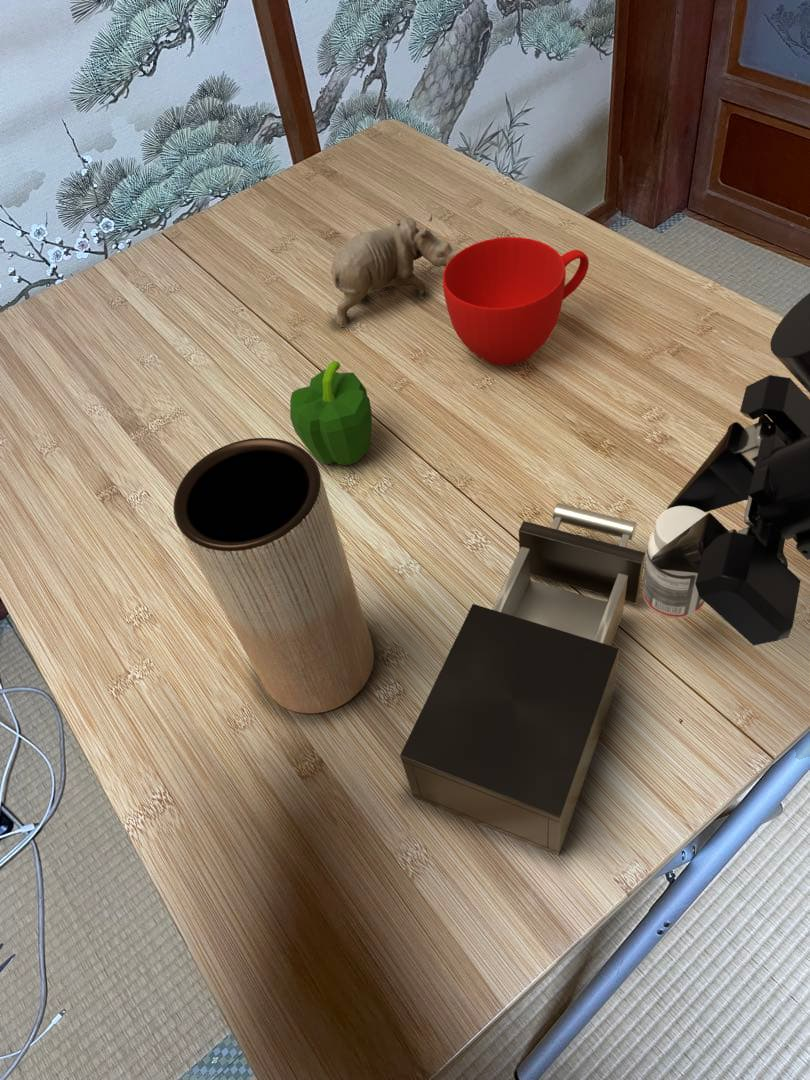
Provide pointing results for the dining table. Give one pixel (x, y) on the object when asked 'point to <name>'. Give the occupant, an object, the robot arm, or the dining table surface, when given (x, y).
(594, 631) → the drawer
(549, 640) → the drawer cabinet
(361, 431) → the bell pepper
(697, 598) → the pill bottle
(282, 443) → the planter
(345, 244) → the rhinoceros figurine
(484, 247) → the ceramic cup
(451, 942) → the dining table surface
